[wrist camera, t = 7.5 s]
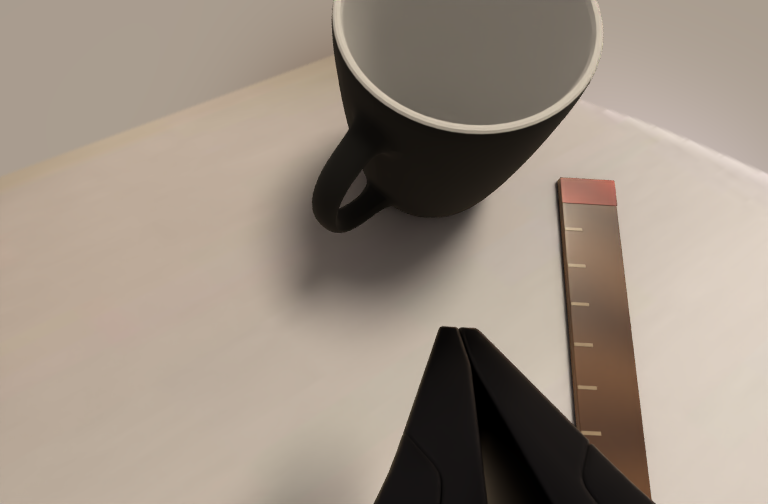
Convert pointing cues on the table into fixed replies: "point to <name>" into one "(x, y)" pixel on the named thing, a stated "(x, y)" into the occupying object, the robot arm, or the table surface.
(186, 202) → the table surface
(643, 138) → the table surface
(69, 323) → the table surface
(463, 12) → the mug
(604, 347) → the ruler
